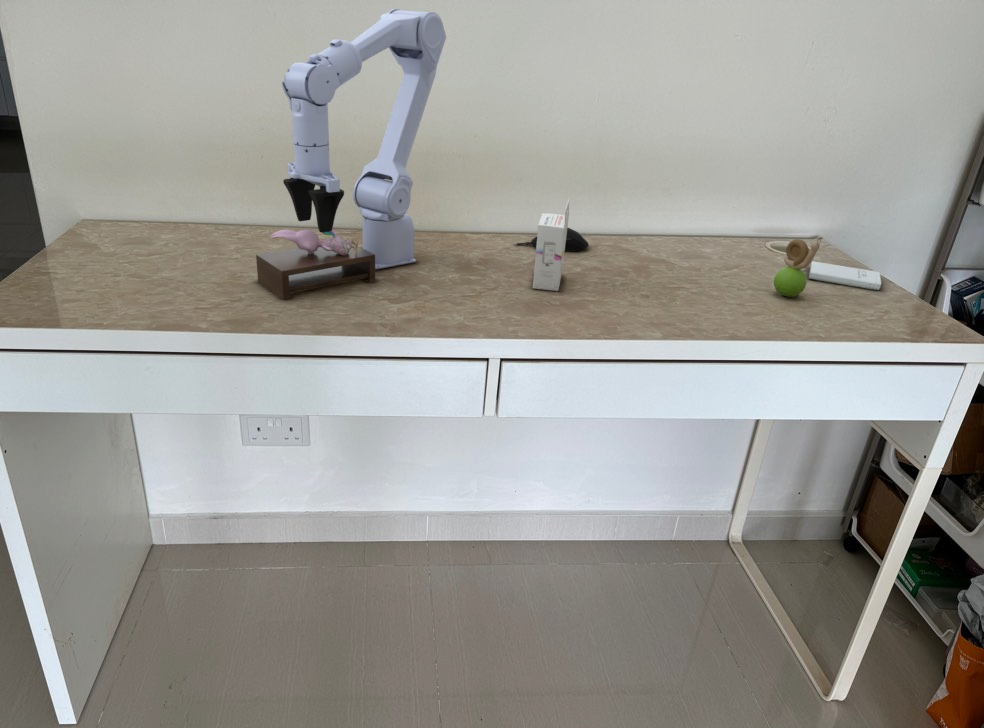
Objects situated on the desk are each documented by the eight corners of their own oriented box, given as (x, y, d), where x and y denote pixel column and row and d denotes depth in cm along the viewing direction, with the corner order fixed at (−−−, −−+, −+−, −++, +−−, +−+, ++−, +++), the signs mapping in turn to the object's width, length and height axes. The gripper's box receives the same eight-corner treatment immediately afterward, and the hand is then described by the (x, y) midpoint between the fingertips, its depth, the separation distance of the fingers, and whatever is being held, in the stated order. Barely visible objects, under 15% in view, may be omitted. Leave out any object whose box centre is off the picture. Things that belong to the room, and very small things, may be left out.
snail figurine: (792, 304, 137) (810, 238, 131) (764, 292, 142) (780, 228, 136) (813, 300, 139) (832, 235, 133) (784, 289, 144) (801, 225, 138)
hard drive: (809, 268, 156) (877, 278, 152) (808, 279, 149) (879, 291, 145) (811, 260, 155) (879, 270, 151) (810, 271, 149) (881, 283, 144)
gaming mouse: (516, 240, 164) (517, 221, 162) (585, 243, 164) (588, 225, 162) (518, 249, 158) (519, 230, 157) (589, 252, 159) (592, 233, 157)
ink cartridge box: (535, 273, 145) (543, 195, 138) (561, 276, 145) (571, 198, 138) (530, 288, 138) (539, 207, 131) (558, 292, 137) (568, 209, 130)
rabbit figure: (356, 255, 139) (272, 240, 136) (361, 223, 136) (275, 207, 134) (355, 266, 133) (267, 251, 131) (360, 233, 131) (271, 217, 128)
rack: (347, 265, 145) (346, 239, 142) (375, 281, 138) (375, 254, 136) (258, 282, 135) (255, 254, 133) (283, 299, 128) (281, 271, 126)
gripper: (269, 137, 128) (274, 218, 135) (310, 153, 118) (314, 240, 125) (307, 134, 132) (310, 213, 139) (350, 149, 122) (351, 234, 129)
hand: (314, 225), depth 132 cm, fingers open, 7 cm apart
